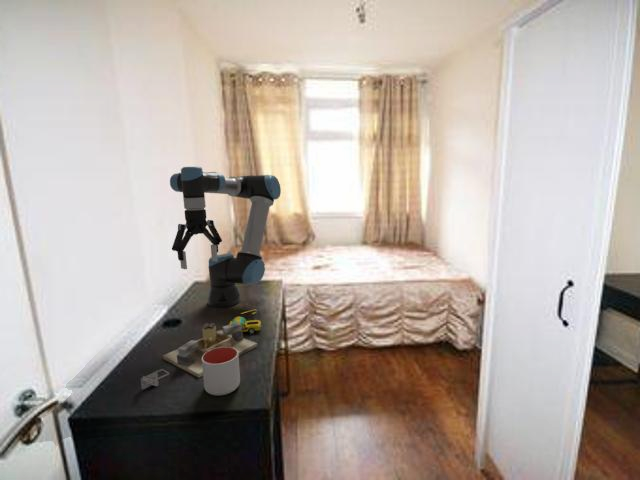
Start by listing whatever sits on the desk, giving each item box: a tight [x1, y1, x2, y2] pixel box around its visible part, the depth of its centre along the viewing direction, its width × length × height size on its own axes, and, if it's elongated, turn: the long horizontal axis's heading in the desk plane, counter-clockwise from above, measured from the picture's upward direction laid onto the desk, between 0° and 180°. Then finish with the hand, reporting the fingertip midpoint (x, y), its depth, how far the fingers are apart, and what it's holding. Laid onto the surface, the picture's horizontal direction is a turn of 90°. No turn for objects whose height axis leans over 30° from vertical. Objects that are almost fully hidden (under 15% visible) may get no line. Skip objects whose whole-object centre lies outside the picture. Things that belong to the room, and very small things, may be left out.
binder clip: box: [140, 368, 170, 391], centre depth 103 cm, size 6×4×6 cm, turn 141°
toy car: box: [228, 309, 262, 335], centre depth 139 cm, size 12×8×8 cm, turn 98°
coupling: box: [201, 322, 217, 350], centre depth 122 cm, size 4×4×9 cm
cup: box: [202, 347, 241, 397], centre depth 102 cm, size 10×10×10 cm
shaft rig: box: [162, 322, 258, 378], centre depth 123 cm, size 25×20×7 cm
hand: (200, 264), depth 136 cm, fingers open, 13 cm apart
